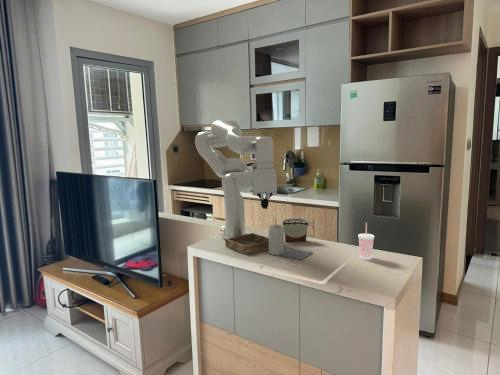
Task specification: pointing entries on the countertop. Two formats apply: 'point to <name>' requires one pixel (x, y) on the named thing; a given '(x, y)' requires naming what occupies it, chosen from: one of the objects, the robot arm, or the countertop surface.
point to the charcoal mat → (296, 254)
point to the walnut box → (237, 246)
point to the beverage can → (276, 239)
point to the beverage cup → (365, 245)
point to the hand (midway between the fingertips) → (264, 208)
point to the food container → (295, 230)
